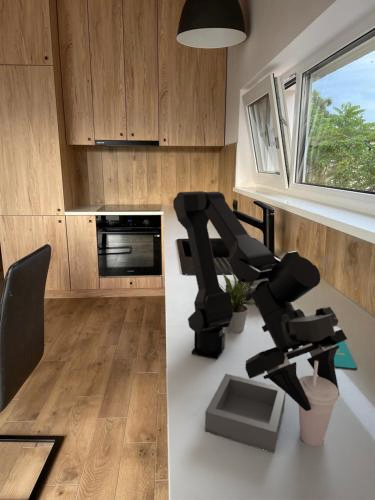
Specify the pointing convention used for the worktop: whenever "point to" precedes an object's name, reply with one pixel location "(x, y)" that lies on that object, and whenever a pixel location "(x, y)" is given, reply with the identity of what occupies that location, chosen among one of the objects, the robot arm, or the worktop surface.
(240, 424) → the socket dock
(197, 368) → the worktop surface
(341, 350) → the smartphone
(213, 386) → the worktop surface
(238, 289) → the house plant
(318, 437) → the smoothie
